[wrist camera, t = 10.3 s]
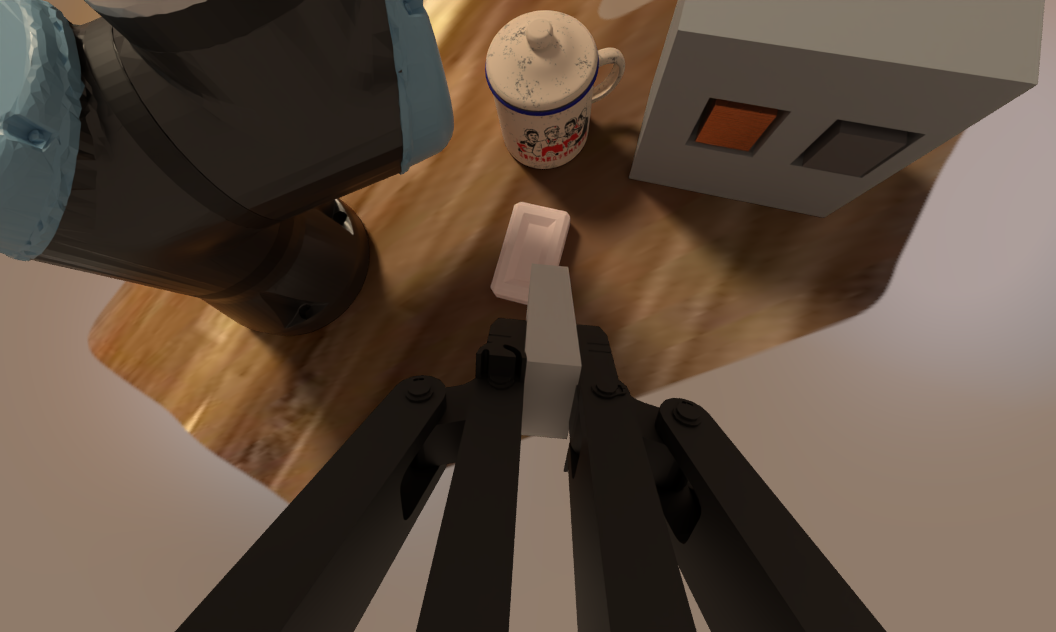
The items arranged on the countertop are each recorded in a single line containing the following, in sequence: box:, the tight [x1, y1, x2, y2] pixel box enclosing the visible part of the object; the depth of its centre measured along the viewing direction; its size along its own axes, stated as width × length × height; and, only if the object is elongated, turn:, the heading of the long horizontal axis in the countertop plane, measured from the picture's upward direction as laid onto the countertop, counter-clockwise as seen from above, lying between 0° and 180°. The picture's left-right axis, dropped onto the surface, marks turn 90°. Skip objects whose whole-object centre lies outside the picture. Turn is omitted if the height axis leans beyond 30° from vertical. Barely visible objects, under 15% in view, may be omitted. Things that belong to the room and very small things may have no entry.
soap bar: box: [491, 202, 570, 305], centre depth 36 cm, size 5×9×2 cm, turn 165°
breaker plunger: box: [695, 98, 778, 151], centre depth 28 cm, size 4×10×4 cm, turn 165°
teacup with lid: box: [485, 10, 625, 169], centre depth 33 cm, size 12×9×12 cm
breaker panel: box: [629, 0, 1045, 218], centre depth 29 cm, size 18×10×16 cm, turn 75°
